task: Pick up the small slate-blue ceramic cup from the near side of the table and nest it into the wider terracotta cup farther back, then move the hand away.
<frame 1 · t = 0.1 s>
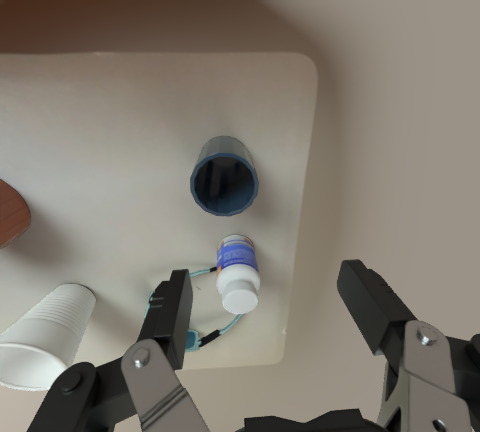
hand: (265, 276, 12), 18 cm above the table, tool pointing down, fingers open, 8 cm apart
slate cup: (224, 162, 27), on the table
cup: (77, 295, 36), on the table
sunglasses: (196, 301, 39), on the table
pill bottle: (235, 248, 34), on the table
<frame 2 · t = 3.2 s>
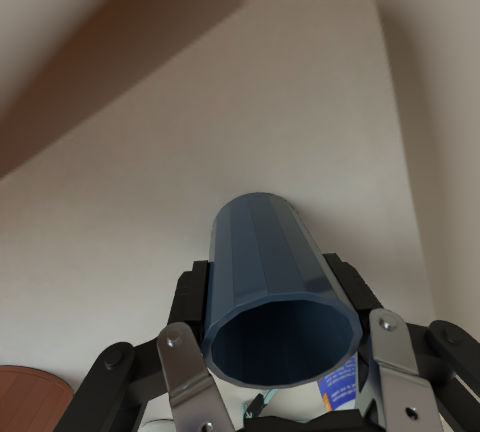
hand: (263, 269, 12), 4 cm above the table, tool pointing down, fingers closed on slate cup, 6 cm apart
slate cup: (256, 232, 15), on the table, touching gripper
terracotta cup: (23, 391, 23), on the table
cup: (163, 427, 30), on the table
sunglasses: (303, 393, 28), on the table
pill bottle: (329, 325, 21), on the table
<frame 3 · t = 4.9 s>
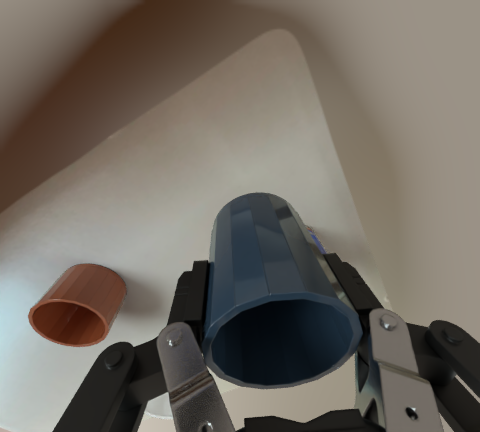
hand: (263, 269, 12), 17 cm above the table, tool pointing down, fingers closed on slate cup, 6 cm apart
slate cup: (256, 232, 16), point 14 cm above the table, touching gripper
terracotta cup: (95, 287, 35), on the table
cup: (183, 330, 41), on the table
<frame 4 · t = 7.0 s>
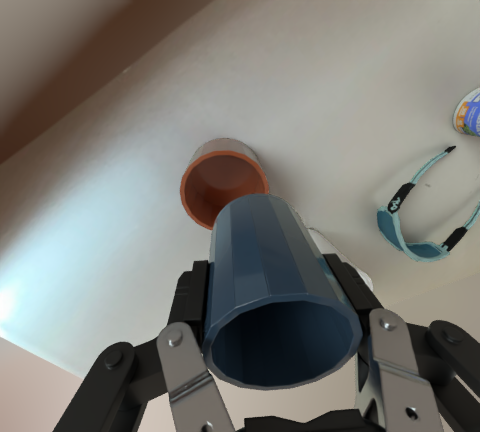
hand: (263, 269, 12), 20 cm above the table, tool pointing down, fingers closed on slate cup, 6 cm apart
slate cup: (256, 233, 16), point 16 cm above the table, touching gripper
terracotta cup: (225, 175, 30), on the table
cup: (303, 243, 37), on the table
sunglasses: (424, 204, 34), on the table
pill bottle: (472, 110, 28), on the table
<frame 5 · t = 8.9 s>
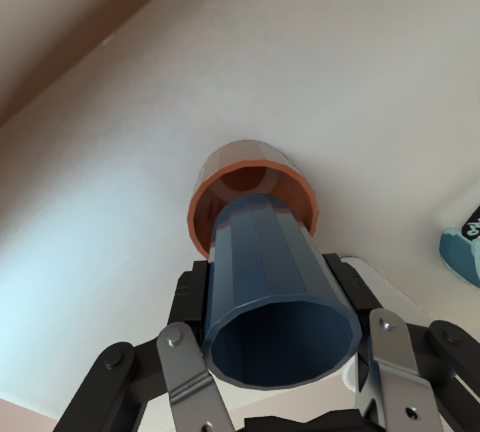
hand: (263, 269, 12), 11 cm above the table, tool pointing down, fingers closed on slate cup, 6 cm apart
slate cup: (256, 233, 16), point 8 cm above the table, touching gripper
terracotta cup: (246, 190, 22), on the table
cup: (341, 273, 29), on the table
when the fingers open (7 cm above the table, at t = 10.8 s): slate cup drops 3 cm, resting on terracotta cup.
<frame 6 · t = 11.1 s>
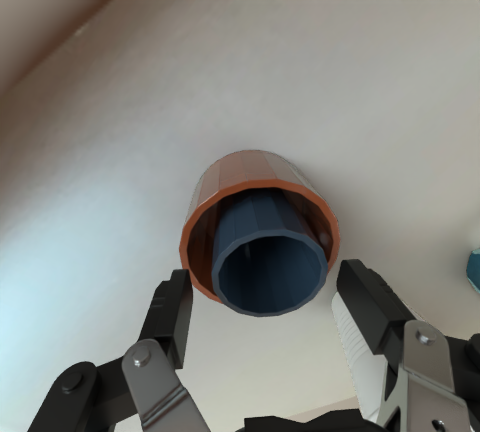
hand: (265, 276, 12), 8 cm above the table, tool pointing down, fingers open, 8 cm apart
slate cup: (253, 208, 19), resting on terracotta cup
terracotta cup: (250, 206, 19), on the table
cup: (356, 295, 26), on the table
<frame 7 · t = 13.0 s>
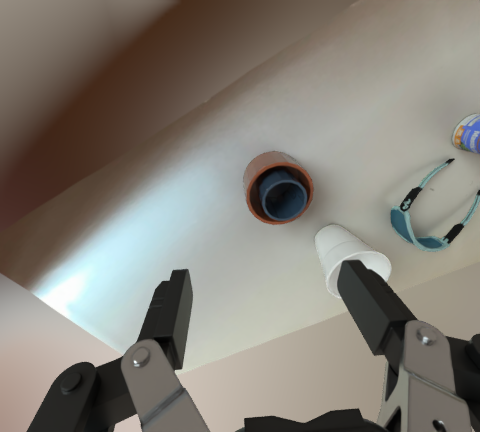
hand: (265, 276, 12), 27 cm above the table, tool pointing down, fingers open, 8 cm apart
slate cup: (273, 180, 37), resting on terracotta cup
terracotta cup: (271, 180, 38), on the table
cup: (329, 236, 44), on the table
sunglasses: (429, 205, 42), on the table
pill bottle: (467, 131, 36), on the table
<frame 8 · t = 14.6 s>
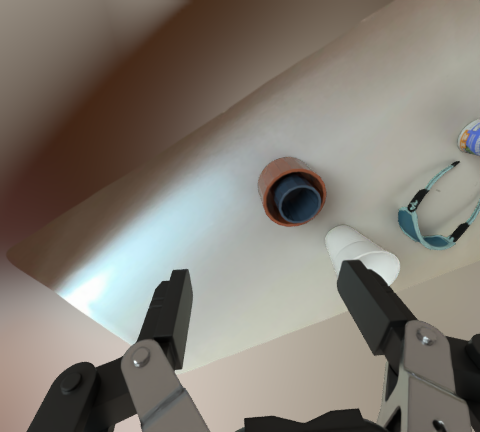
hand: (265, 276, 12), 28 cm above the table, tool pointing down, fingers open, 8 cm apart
slate cup: (286, 184, 39), resting on terracotta cup
terracotta cup: (284, 184, 40), on the table
cup: (338, 236, 46), on the table
sunglasses: (435, 205, 44), on the table
pill bottle: (472, 135, 38), on the table
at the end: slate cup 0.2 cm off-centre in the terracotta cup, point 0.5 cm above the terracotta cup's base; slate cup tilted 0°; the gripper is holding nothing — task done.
